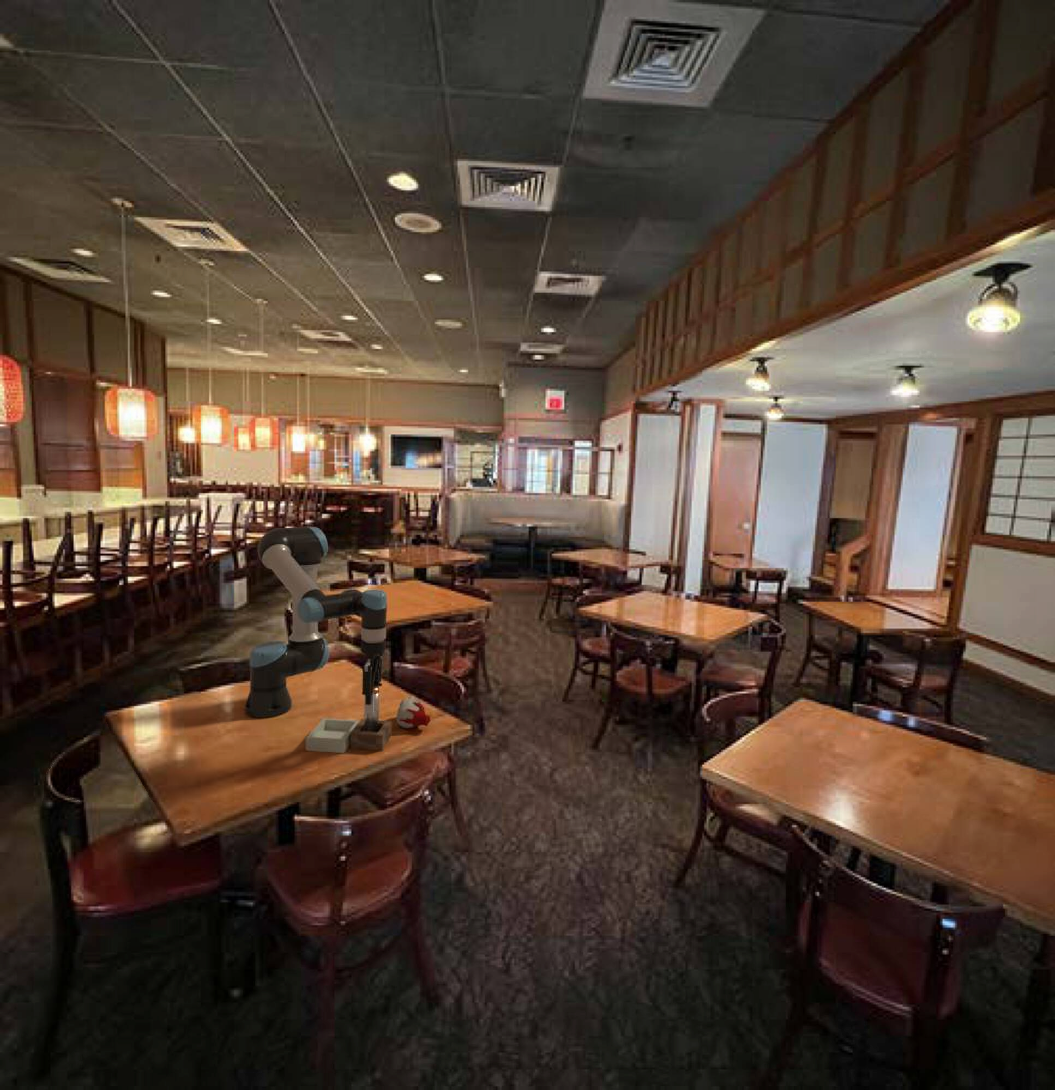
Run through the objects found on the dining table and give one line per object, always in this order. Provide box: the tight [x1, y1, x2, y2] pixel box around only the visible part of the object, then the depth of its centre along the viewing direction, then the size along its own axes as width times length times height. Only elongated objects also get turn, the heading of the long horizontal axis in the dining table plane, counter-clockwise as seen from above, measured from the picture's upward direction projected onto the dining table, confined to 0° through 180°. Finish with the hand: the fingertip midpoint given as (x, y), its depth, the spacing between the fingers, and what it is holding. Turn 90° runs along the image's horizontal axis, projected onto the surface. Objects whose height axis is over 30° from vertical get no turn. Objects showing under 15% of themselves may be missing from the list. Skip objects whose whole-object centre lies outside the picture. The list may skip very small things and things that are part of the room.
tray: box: [305, 717, 361, 754], centre depth 177 cm, size 14×12×4 cm
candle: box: [396, 695, 431, 730], centre depth 190 cm, size 9×11×15 cm
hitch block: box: [350, 718, 392, 752], centre depth 177 cm, size 10×10×5 cm
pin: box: [363, 685, 380, 732], centre depth 176 cm, size 4×4×14 cm
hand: (371, 709), depth 176 cm, fingers closed on pin, 4 cm apart
